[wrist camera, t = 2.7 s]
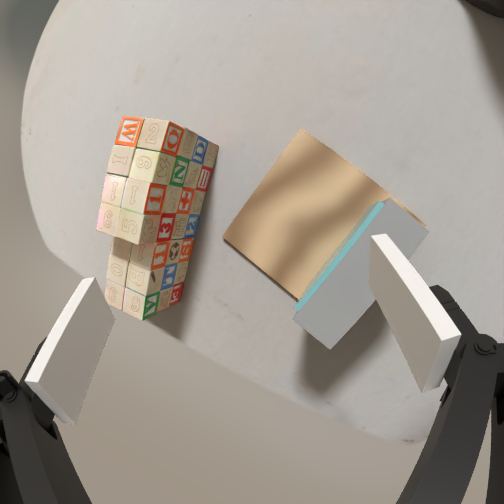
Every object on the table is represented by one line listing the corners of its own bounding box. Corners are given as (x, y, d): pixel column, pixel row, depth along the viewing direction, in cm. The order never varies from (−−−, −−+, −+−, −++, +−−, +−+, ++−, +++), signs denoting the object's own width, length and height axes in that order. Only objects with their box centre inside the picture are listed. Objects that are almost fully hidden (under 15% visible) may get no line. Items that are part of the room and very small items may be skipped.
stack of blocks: (181, 302, 42) (125, 330, 30) (145, 286, 44) (85, 307, 32) (219, 145, 38) (168, 119, 26) (178, 137, 40) (120, 114, 28)
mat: (424, 225, 32) (425, 225, 31) (338, 330, 36) (338, 331, 36) (301, 129, 35) (300, 128, 34) (224, 236, 39) (222, 236, 38)
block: (402, 227, 32) (429, 231, 21) (336, 308, 35) (330, 349, 24) (372, 202, 33) (385, 193, 22) (307, 284, 36) (287, 315, 25)
